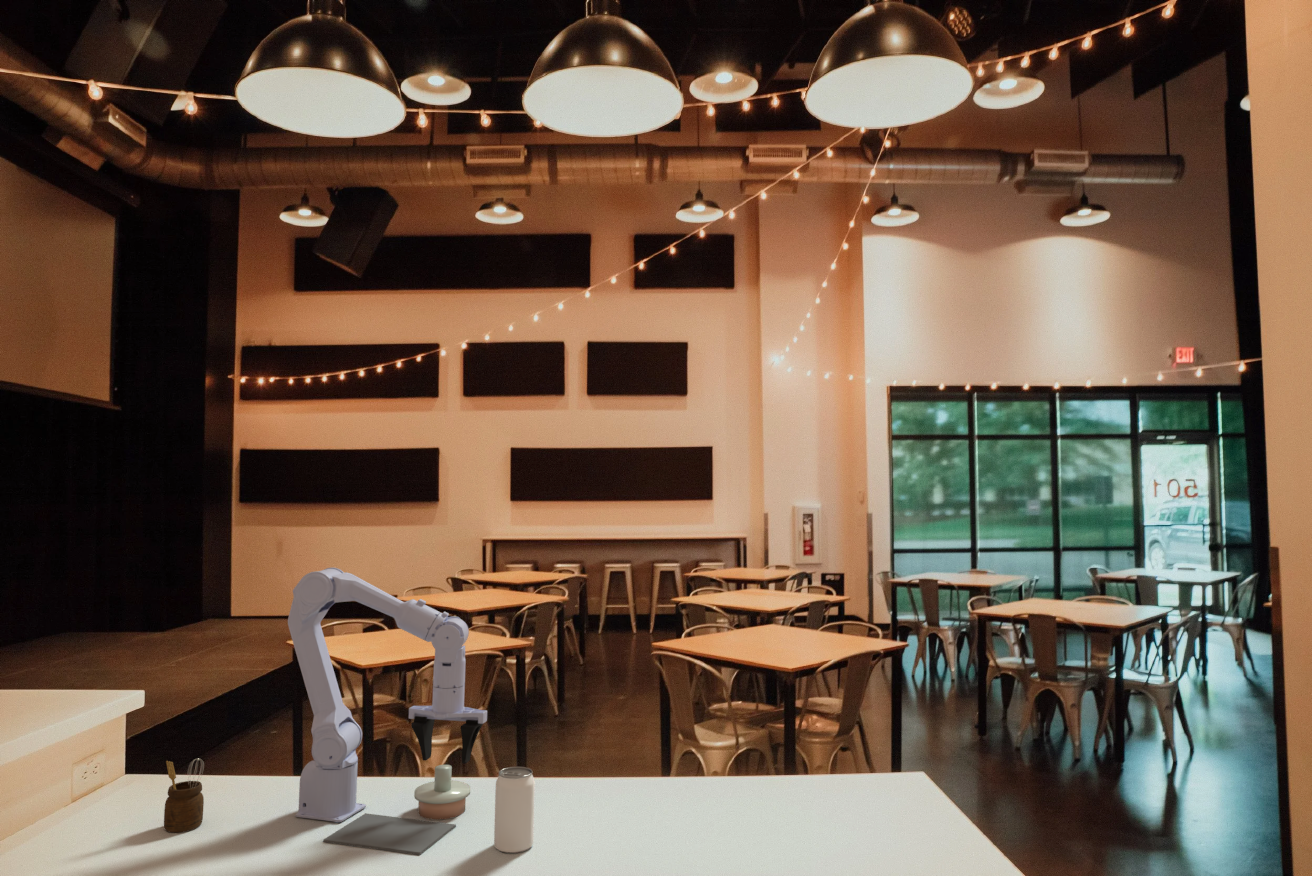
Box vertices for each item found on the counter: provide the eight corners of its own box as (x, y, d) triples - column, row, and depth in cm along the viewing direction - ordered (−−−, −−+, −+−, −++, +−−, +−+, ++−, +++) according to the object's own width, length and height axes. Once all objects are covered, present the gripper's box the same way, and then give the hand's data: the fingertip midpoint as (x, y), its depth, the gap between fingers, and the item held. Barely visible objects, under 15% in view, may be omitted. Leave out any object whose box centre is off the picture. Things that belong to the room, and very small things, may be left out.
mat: (323, 841, 139) (323, 839, 139) (365, 815, 151) (365, 813, 151) (420, 854, 134) (420, 852, 134) (455, 826, 146) (455, 824, 146)
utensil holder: (210, 823, 146) (214, 753, 147) (176, 836, 140) (180, 763, 141) (187, 817, 148) (191, 748, 149) (153, 830, 143) (157, 758, 143)
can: (525, 855, 135) (527, 779, 135) (487, 851, 136) (489, 776, 137) (538, 839, 141) (540, 767, 142) (502, 836, 142) (504, 764, 143)
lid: (403, 800, 150) (404, 773, 150) (431, 782, 160) (432, 756, 160) (453, 806, 147) (454, 778, 148) (479, 787, 157) (480, 761, 157)
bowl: (409, 816, 150) (409, 799, 151) (432, 800, 158) (433, 783, 159) (451, 821, 148) (452, 804, 148) (473, 804, 156) (473, 788, 157)
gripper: (402, 687, 151) (399, 763, 150) (478, 692, 149) (475, 769, 148) (419, 679, 158) (416, 752, 157) (492, 683, 156) (489, 757, 155)
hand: (446, 760), depth 153 cm, fingers open, 7 cm apart
